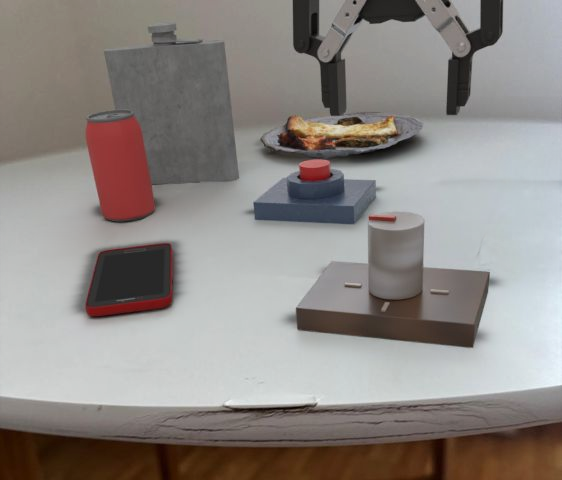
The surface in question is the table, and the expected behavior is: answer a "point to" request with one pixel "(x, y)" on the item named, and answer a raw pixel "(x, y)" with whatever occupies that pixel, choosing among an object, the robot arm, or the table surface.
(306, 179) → the red button
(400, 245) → the tap knob
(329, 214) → the button block
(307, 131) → the food plate
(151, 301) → the cell phone
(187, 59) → the hip flask
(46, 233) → the table surface
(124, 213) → the beer can
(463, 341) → the panel
